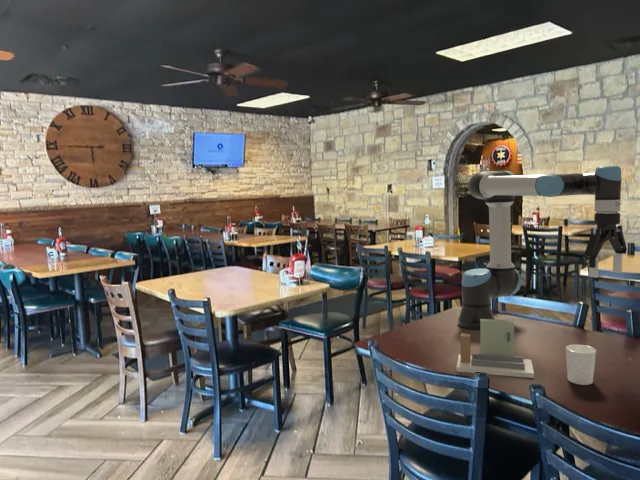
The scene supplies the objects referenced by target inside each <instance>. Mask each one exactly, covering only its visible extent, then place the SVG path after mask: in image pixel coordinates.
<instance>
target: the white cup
mask: <svg viewBox="0 0 640 480" xmlns="http://www.w3.org/2000/svg"><path fill="white" fill-rule="evenodd" d="M596 352H597V350H596V349H595V348H594V347H592V346H589V345H584V344H578V343H577V344H569V345H566V346H565V357H566V371H567V376H566V377H567V380H568V381H569V382H570V383H573V384H576V385H580V386H589V385H592V384H594V383H593V382H594V375H595V374H594V373H595V366H596Z"/></svg>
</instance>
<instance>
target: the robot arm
mask: <svg viewBox="0 0 640 480" xmlns="http://www.w3.org/2000/svg"><path fill="white" fill-rule="evenodd" d="M622 180H623V178H622V167H621V166H618V165H608V166H606V165H604V166H597V167H595V171H594V172H585V173H584V172H581V173H579V172H578V173H577V172H576V173H575V172H572V173H560V174H559V173H557V174H555V173H550V174H528V175H527V174H526V175H525V174H524V175H523V174H521V175H518V174H517V175H515V173H513V172H512V171H508V170H507V171H506V170H495V171H493V170H491V171H480V172H476V173H474V174H473V175H472V176H471V177H470V179H469V181H468V183H467V184H468V185H467V187H468V188H467V189H468V192H469V194H470V195H471V196H472V197H474V198H475V199H478V200H484V202H485V203H484V204H486V206H488V215H489V216H488V217H489V219H488V221H489V229H488V230H489V262H488V263H487V264H486V268H482V267H481V268H480V267H479V268H473V269H472V268H471V269H468V270H466V271H464V272H463V273H462V277H461V305H462V306H461V309H460V313H459V316H458V318H457V325H458V326H459V327H461V328H465V329H469V330H480V319H494V320H496V319H495V317H494V312H493V310H492V304H491V303H492V299H495V298H496V299H497V298H501V297H504V298H505V297H508V296H509V297H510V296H511V295H515V294H516V293H517V292H518V291H519V290H520V289H521V285H522V277H521V274H519V273H520V272H519V271H518V270H517V269H516V266H515V264H514V263H513V261H512V240H511V239H512V236H511V235H512V234H511V233H512V230H511V229H512V225H511V206H512V205H513V204H514V203H515V197H516V196H518V197H519V196H520V197H523V196H525V197H545V198H554V197H555V198H556V197H562V196H582V195H583V196H586V195H588V196H589V195H590V196H591V195H592V196H593V195H594V208H593V209H594V212H595V213H594V218H593V220H594V221H593V222H594V224H595V225H597V227H591V228H590V236H589V239H588V242H587V245H586V248H585V252H584V256H585V258H588V277H589V278H590V277H591V278H596V279H597V278H599V258H598V255H599V254H600V252H601V249H602V247H603V246H604V243H606V242H607V241H609V243H610V245H611V247H612V249H613V251H614V252H613V255H612V259H613V260H612V272H614V273H623V255H624V254H627V250H628V247H627V244H626V240H625V237H624V232H623V226H622V225H619V224H620V223H621V213H620V211H621V205H622V203H621V198H622V196H621V193H622V192H621V191H622Z"/></svg>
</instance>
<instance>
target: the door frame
mask: <svg viewBox="0 0 640 480" xmlns="http://www.w3.org/2000/svg"><path fill="white" fill-rule="evenodd" d="M459 339H460V341H459V343H460V354H458V358H457V363H456V372H457V373H467V374H468V373H470V374H476V373H475V372H485V373H487V374H486V375H494V376H502V377H504V376H507V377H518V378H528V379H529V378H530V379H532V378H533V379H534V378H535V372H534V368H533V362H532V359H528V358H527V359H525V357H524V356H523V355H522V356H521V355H514V356H510V355H496V354H482V353H481V352H471V333H464V332H463V333H460V338H459ZM471 354H472V355H471Z"/></svg>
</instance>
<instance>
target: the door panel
mask: <svg viewBox="0 0 640 480" xmlns="http://www.w3.org/2000/svg"><path fill="white" fill-rule="evenodd" d="M479 331H480V333H479V334H480V344H479V346H480V353H482V354H496V355H510V356H515V321H514V320H513V319H512V320H509V319H495V320H494V319H480V329H479Z"/></svg>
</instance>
